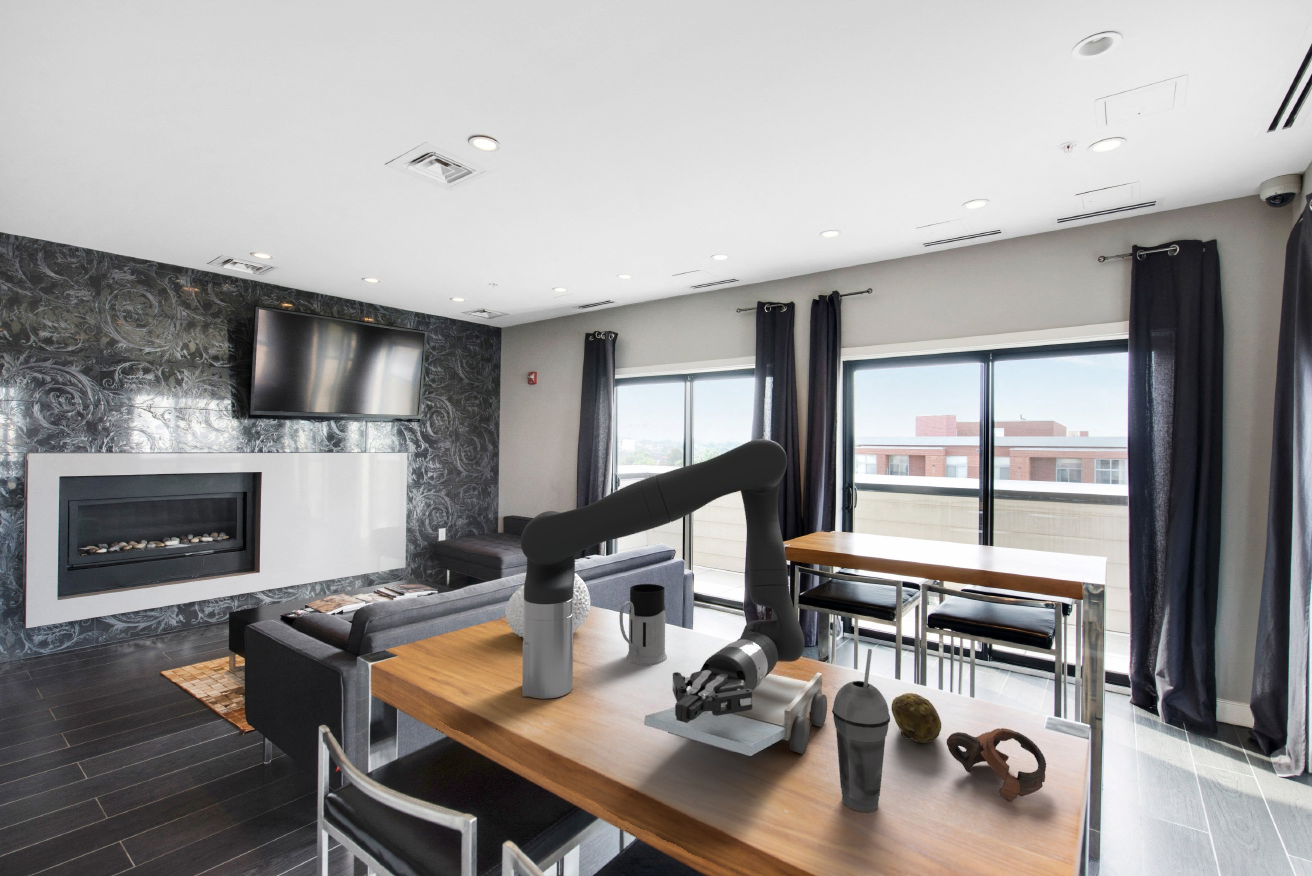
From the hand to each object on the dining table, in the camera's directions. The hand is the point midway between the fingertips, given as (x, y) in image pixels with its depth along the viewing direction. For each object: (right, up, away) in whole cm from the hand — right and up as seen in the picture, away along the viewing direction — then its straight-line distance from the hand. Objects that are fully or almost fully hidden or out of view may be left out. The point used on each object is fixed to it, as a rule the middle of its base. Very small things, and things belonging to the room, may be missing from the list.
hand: (681, 714), depth 79 cm
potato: (+38, -13, +18) cm, 44 cm away
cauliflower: (-28, -12, +67) cm, 74 cm away
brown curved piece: (+44, -13, +7) cm, 46 cm away
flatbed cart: (+14, -12, +23) cm, 30 cm away
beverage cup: (+24, -12, +2) cm, 27 cm away
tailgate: (+9, -7, +15) cm, 19 cm away
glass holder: (-7, -12, +51) cm, 53 cm away
